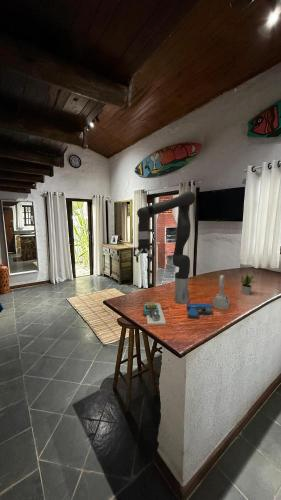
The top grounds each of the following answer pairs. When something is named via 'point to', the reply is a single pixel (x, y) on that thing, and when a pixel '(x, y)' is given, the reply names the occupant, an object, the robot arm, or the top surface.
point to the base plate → (161, 321)
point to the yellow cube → (150, 305)
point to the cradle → (146, 312)
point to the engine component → (221, 296)
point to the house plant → (246, 284)
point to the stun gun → (198, 310)
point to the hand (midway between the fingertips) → (144, 262)
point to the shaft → (154, 315)
